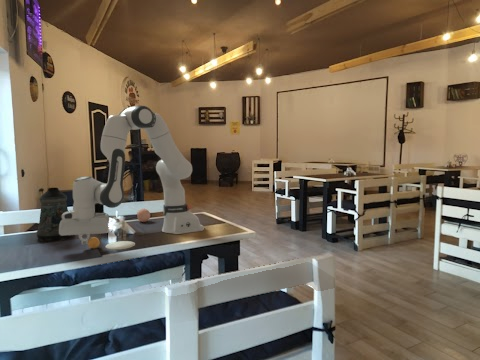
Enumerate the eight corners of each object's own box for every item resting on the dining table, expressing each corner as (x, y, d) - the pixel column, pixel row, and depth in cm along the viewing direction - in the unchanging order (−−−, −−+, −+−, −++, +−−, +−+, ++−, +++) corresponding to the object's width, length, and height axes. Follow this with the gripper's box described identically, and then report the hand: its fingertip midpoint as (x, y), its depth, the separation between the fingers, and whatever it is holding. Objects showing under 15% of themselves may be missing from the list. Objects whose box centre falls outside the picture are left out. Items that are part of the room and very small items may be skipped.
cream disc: (134, 240, 169) (134, 240, 169) (135, 247, 157) (135, 247, 157) (106, 243, 165) (106, 242, 165) (104, 250, 153) (104, 250, 153)
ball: (91, 248, 159) (101, 242, 161) (91, 252, 155) (101, 246, 156) (85, 239, 158) (96, 233, 159) (85, 242, 153) (95, 236, 155)
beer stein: (44, 243, 165) (41, 191, 163) (29, 237, 178) (26, 188, 175) (79, 236, 178) (76, 187, 175) (63, 230, 190) (60, 185, 188)
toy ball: (145, 219, 216) (144, 207, 215) (153, 221, 212) (153, 208, 211) (134, 222, 210) (133, 209, 209) (142, 223, 205) (142, 210, 204)
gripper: (109, 211, 161) (109, 240, 162) (60, 213, 155) (61, 243, 156) (108, 213, 155) (109, 244, 156) (57, 215, 149) (58, 247, 150)
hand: (84, 243), depth 156 cm, fingers closed
